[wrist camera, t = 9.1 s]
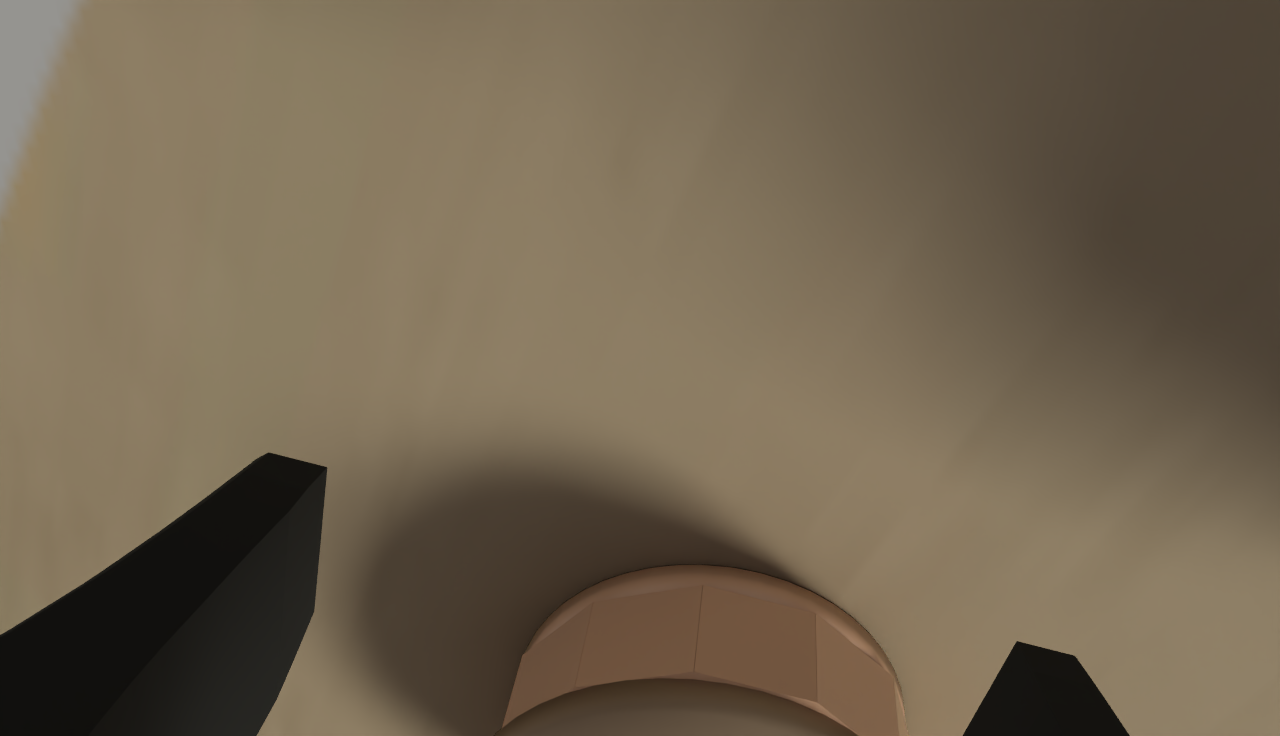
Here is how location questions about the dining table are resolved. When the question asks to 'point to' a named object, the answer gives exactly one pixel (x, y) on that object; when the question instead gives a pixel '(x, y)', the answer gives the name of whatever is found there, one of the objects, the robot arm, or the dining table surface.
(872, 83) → the dining table surface
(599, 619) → the bowl
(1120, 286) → the dining table surface
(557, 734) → the lid
